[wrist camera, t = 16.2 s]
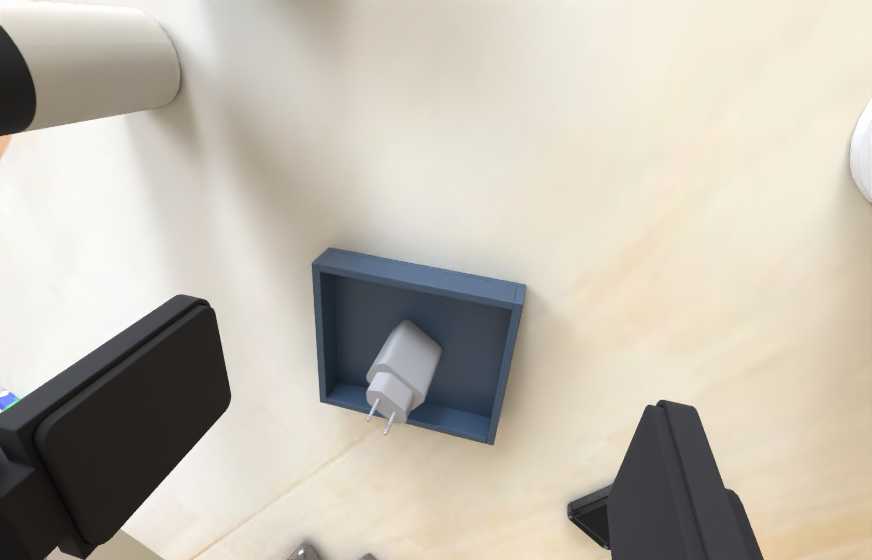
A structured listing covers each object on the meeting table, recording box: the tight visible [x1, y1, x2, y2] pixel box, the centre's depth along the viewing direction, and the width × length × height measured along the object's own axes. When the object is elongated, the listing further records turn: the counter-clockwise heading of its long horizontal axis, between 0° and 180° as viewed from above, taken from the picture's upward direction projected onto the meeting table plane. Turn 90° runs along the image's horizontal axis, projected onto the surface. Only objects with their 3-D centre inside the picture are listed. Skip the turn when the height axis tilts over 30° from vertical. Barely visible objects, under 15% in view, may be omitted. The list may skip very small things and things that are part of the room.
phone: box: [567, 485, 613, 550], centre depth 50 cm, size 8×1×15 cm
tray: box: [312, 248, 526, 445], centre depth 46 cm, size 20×18×4 cm
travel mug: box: [0, 0, 181, 136], centre depth 33 cm, size 8×8×18 cm
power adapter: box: [366, 320, 443, 435], centre depth 42 cm, size 3×5×12 cm, turn 49°
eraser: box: [0, 391, 20, 411], centre depth 72 cm, size 2×6×2 cm, turn 47°
